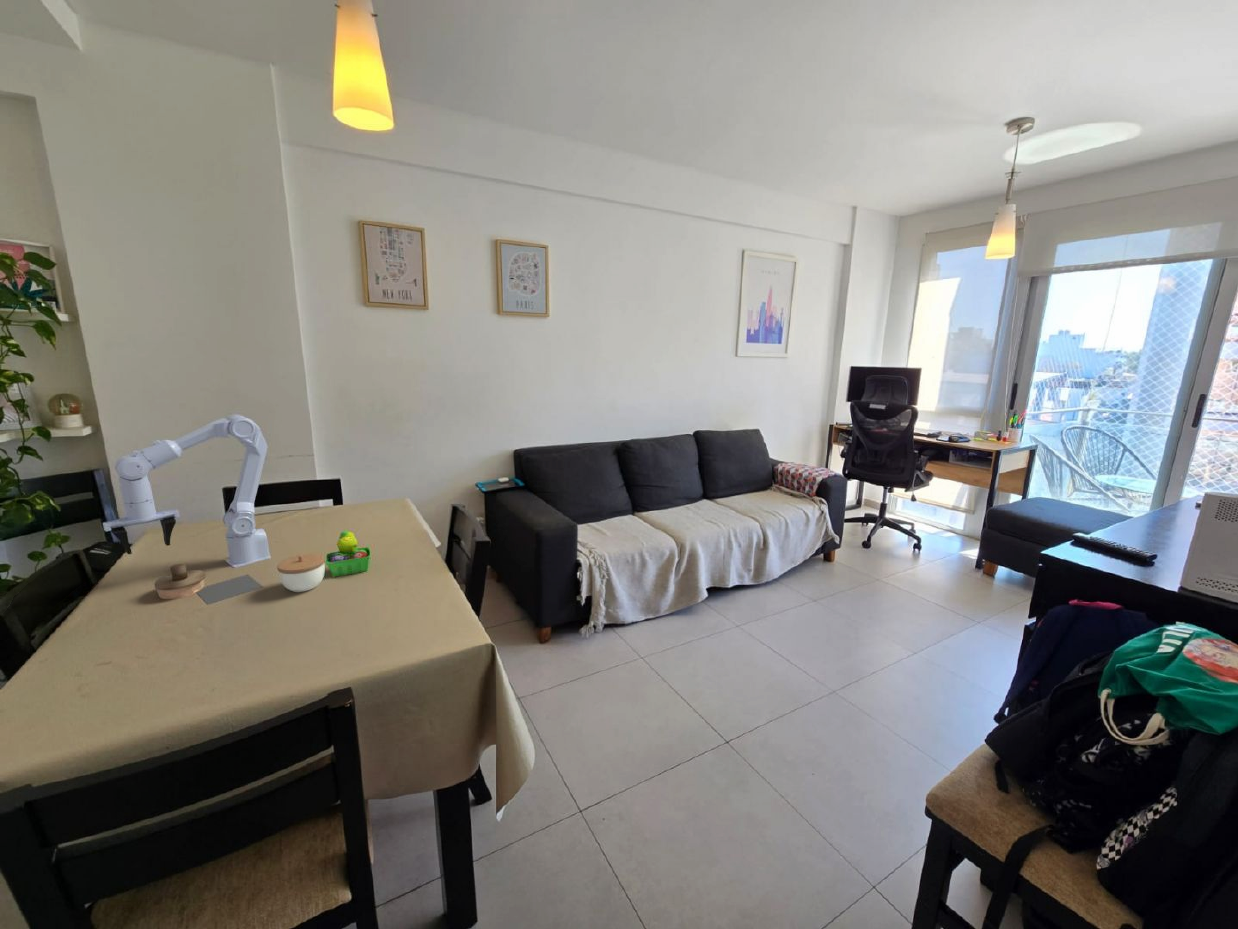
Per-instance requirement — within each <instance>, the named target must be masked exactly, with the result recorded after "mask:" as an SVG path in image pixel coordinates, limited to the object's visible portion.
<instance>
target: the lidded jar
mask: <svg viewBox="0 0 1238 929" xmlns="http://www.w3.org/2000/svg"><path fill="white" fill-rule="evenodd" d="M325 566H326V558H325V556H324V555H322V554H319V553H304V554H298V555H294V556H291V557H288V558H285V559H283V560H282V561H280V562H278V564H277V566H276V567H277V571H278V576H279V580H280V582H281V585H283V586H284V588H286V589H287V590H288V591H292V592H295V593H303V592H309V591H311V590H313V589H315V588H317V587H318V585H320V584H321V582H322V581H323V579H324V577H325V573H326V572H325V571H326V569H325V568H326V567H325Z"/></svg>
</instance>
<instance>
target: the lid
mask: <svg viewBox="0 0 1238 929" xmlns="http://www.w3.org/2000/svg"><path fill="white" fill-rule="evenodd" d="M186 566H187V565H186V563H177V564H174V565H173V564H172V565H171V566H170V567H169V569H170V573H171V574H168V575H166V576H162V577H161V578H159V579H157V580H156V581H155V582H154V584H153V585H154V589H156V591H157V590H175V589H180V588H184V587H188V586H191V585H194V584H196V583H198V582H200V581H202V580H203V579H205V578H206V573H205V572H204V571H203V570H198V569H197V570H196V569H193V570H191V569H190V570H187V567H186Z"/></svg>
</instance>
